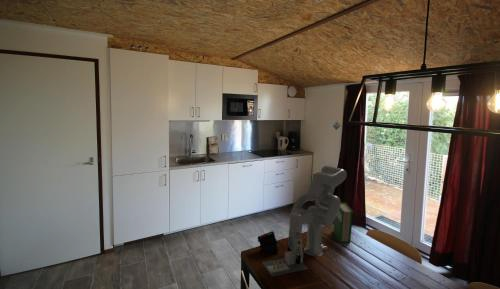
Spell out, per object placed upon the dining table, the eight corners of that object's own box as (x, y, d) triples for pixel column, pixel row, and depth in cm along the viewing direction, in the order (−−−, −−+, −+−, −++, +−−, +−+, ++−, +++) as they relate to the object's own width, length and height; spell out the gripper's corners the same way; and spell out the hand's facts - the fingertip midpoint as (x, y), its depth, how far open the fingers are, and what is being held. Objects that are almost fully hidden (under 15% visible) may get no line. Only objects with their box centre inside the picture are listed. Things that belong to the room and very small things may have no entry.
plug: (307, 256, 162) (307, 248, 161) (311, 260, 158) (311, 251, 157) (284, 261, 157) (285, 251, 156) (288, 265, 153) (288, 255, 152)
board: (296, 257, 163) (296, 250, 162) (308, 270, 150) (309, 263, 149) (261, 264, 155) (262, 256, 154) (271, 278, 142) (271, 270, 141)
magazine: (282, 253, 164) (273, 233, 163) (263, 260, 166) (254, 240, 164) (282, 250, 168) (273, 230, 166) (263, 257, 169) (254, 237, 168)
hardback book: (350, 243, 183) (353, 211, 180) (339, 242, 184) (342, 210, 181) (343, 231, 201) (345, 202, 198) (333, 231, 201) (335, 202, 198)
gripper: (308, 238, 147) (306, 266, 149) (293, 225, 163) (292, 250, 165) (297, 240, 145) (295, 268, 147) (283, 227, 161) (281, 252, 163)
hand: (293, 259), depth 156 cm, fingers open, 9 cm apart
